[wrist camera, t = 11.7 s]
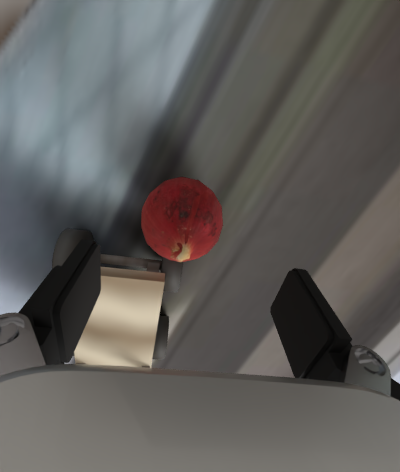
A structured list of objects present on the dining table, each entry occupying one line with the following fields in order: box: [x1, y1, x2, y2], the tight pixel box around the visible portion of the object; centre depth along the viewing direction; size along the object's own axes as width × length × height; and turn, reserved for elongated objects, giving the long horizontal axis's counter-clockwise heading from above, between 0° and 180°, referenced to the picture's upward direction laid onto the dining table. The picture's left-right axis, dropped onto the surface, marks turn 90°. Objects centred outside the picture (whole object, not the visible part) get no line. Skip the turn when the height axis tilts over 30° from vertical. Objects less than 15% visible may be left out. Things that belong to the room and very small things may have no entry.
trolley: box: [52, 228, 183, 368], centre depth 19 cm, size 14×10×14 cm, turn 169°
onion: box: [141, 177, 223, 262], centre depth 17 cm, size 6×6×8 cm
